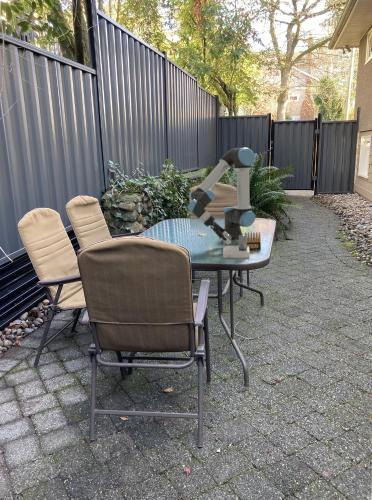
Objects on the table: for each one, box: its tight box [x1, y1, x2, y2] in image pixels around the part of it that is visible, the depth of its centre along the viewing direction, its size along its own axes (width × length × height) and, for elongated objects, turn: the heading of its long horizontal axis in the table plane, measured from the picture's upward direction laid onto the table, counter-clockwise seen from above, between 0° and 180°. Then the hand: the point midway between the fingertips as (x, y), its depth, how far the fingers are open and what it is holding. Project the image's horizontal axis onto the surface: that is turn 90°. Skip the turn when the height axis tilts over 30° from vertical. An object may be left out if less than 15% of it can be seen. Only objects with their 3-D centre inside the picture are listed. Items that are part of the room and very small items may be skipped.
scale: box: [222, 245, 251, 259], centre depth 241 cm, size 17×16×4 cm
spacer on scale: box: [238, 234, 248, 251], centre depth 235 cm, size 5×5×9 cm
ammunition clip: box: [244, 231, 262, 251], centre depth 250 cm, size 11×2×12 cm, turn 88°
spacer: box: [222, 234, 232, 247], centre depth 257 cm, size 5×5×9 cm
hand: (230, 241), depth 256 cm, fingers open, 13 cm apart
